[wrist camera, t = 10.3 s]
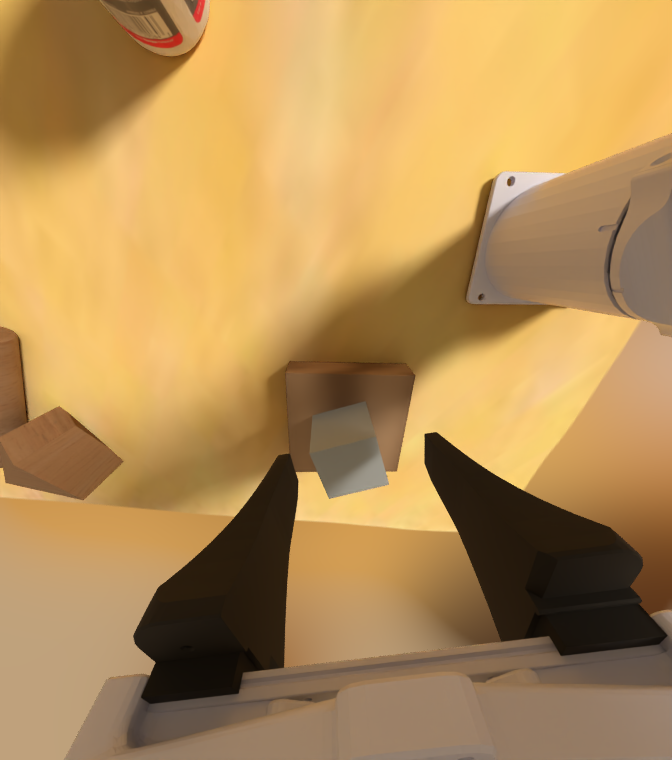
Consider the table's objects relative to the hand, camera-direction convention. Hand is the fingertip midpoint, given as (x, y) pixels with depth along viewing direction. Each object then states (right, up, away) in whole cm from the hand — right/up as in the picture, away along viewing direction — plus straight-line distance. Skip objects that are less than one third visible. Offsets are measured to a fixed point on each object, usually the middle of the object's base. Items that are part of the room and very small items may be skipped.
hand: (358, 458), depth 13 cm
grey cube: (0, 0, +8) cm, 8 cm away
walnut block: (0, +1, +10) cm, 11 cm away
